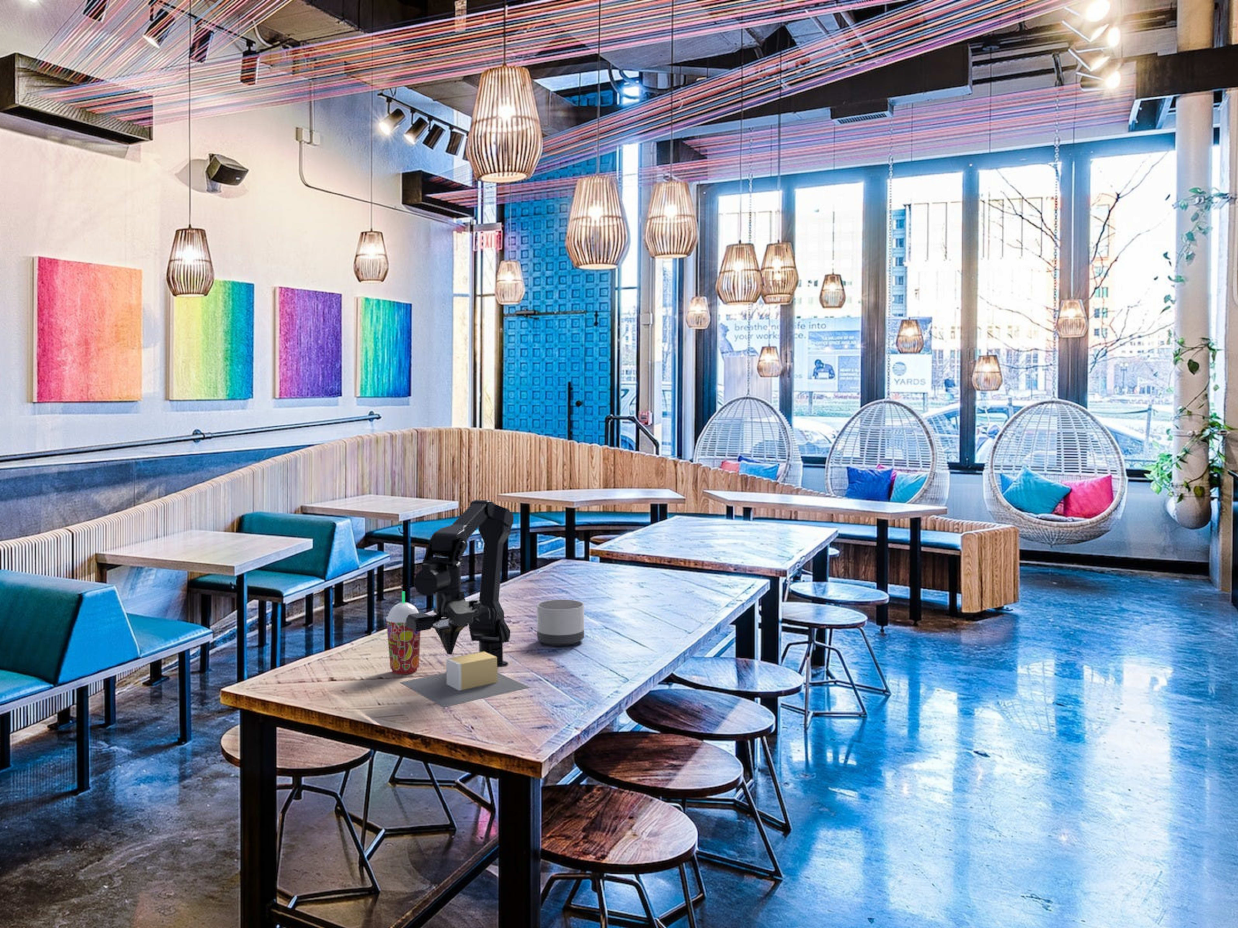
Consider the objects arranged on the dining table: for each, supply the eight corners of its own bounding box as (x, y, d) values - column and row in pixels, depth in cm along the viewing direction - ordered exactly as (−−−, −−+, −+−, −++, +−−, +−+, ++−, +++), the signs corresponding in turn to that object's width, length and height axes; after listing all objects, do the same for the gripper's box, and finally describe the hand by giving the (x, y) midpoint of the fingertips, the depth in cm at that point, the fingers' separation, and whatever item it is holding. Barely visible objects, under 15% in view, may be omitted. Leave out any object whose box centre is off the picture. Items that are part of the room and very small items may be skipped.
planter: (556, 651, 246) (556, 612, 245) (527, 641, 255) (527, 603, 254) (593, 642, 254) (593, 604, 253) (564, 633, 264) (564, 597, 263)
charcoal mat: (399, 684, 217) (399, 682, 217) (482, 667, 231) (482, 665, 231) (443, 709, 200) (443, 706, 200) (530, 689, 213) (530, 687, 213)
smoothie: (384, 669, 229) (383, 589, 227) (418, 665, 232) (417, 586, 230) (390, 679, 221) (388, 596, 219) (425, 675, 224) (424, 593, 223)
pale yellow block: (446, 658, 215) (484, 651, 221) (446, 683, 216) (484, 676, 222) (458, 664, 210) (496, 656, 217) (459, 690, 211) (497, 682, 217)
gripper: (426, 598, 199) (427, 669, 200) (502, 587, 210) (502, 654, 212) (404, 589, 208) (405, 658, 209) (477, 579, 219) (478, 644, 220)
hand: (449, 653), depth 212 cm, fingers closed
